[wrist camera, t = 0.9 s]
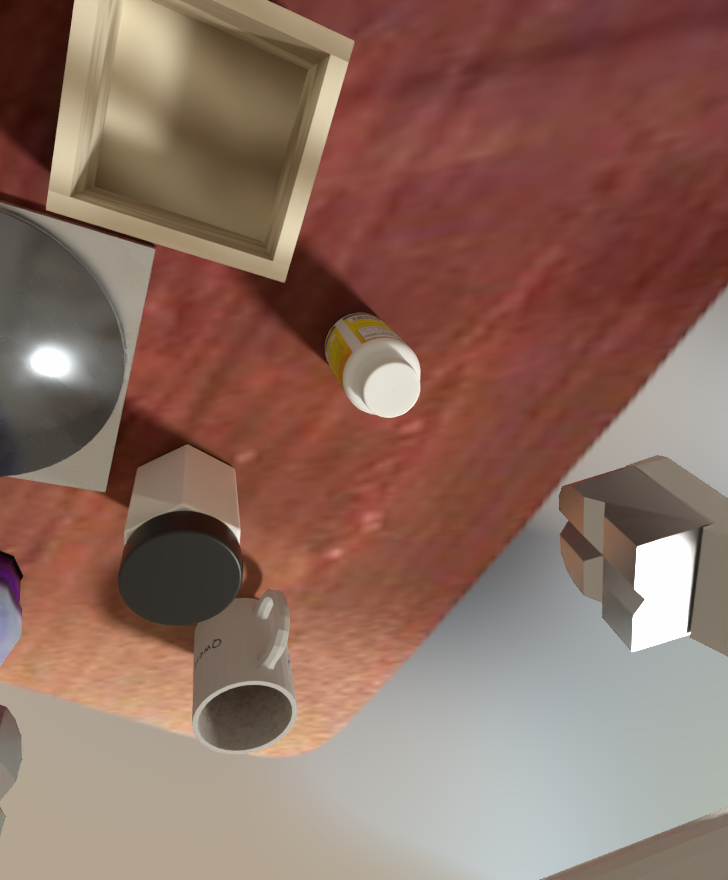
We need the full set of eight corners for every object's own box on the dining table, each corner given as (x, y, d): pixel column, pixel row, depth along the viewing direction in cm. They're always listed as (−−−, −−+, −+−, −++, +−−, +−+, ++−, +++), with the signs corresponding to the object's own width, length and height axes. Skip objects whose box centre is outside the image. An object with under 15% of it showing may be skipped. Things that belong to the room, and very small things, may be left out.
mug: (248, 676, 61) (255, 764, 53) (176, 645, 57) (170, 736, 49) (325, 594, 59) (345, 673, 50) (254, 556, 55) (263, 635, 46)
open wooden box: (113, -35, 34) (86, -86, 27) (324, 60, 39) (354, 41, 31) (77, 195, 39) (45, 209, 31) (270, 256, 44) (284, 282, 36)
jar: (164, 547, 52) (154, 647, 42) (111, 477, 48) (85, 569, 38) (256, 503, 52) (269, 592, 42) (211, 429, 48) (212, 508, 38)
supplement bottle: (347, 389, 50) (378, 444, 41) (309, 336, 47) (334, 383, 38) (402, 351, 49) (446, 398, 40) (368, 296, 47) (407, 333, 38)
